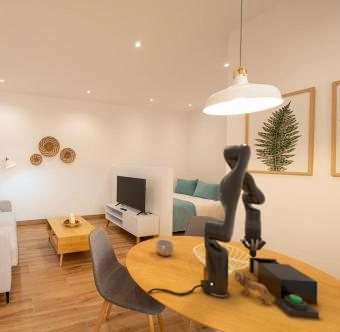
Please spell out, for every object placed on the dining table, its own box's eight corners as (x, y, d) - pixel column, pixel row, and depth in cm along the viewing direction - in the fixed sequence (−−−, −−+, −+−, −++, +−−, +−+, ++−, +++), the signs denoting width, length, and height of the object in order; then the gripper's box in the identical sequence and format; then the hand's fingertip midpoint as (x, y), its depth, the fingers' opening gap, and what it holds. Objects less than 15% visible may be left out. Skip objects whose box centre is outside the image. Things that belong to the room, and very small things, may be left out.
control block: (289, 315, 83) (289, 305, 83) (274, 302, 91) (274, 293, 90) (318, 318, 81) (318, 308, 81) (301, 304, 89) (301, 295, 89)
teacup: (159, 249, 147) (159, 237, 147) (175, 253, 141) (175, 241, 141) (152, 256, 136) (152, 244, 136) (169, 261, 130) (169, 247, 130)
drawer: (244, 267, 119) (244, 253, 119) (269, 269, 117) (269, 255, 117) (267, 287, 100) (267, 270, 100) (297, 289, 99) (297, 272, 99)
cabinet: (257, 281, 107) (257, 262, 107) (288, 283, 105) (288, 264, 105) (280, 301, 91) (281, 279, 91) (317, 304, 89) (317, 281, 89)
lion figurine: (232, 291, 99) (232, 272, 99) (236, 287, 102) (236, 268, 102) (273, 307, 87) (274, 286, 87) (276, 302, 91) (276, 281, 91)
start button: (294, 303, 84) (294, 299, 84) (287, 298, 88) (287, 294, 88) (304, 304, 84) (304, 300, 84) (296, 299, 87) (297, 294, 87)
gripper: (261, 225, 124) (261, 254, 124) (236, 224, 126) (236, 253, 126) (270, 229, 117) (270, 260, 117) (244, 228, 119) (243, 259, 119)
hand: (252, 256), depth 122 cm, fingers closed
